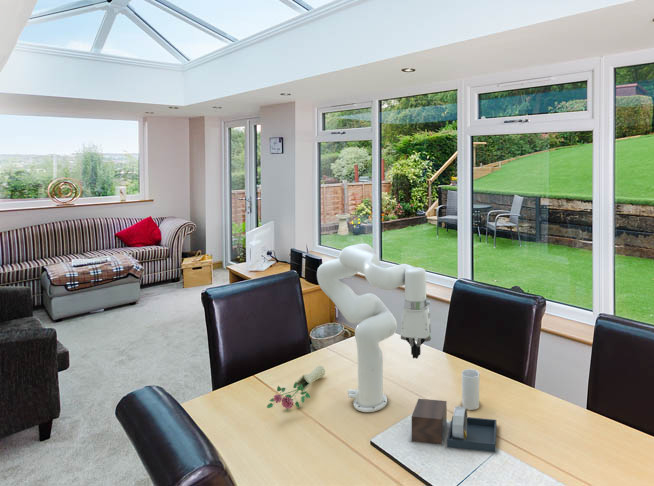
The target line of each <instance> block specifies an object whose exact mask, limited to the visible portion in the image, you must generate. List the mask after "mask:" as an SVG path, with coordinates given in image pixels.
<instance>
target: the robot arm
mask: <svg viewBox="0 0 654 486" xmlns="http://www.w3.org/2000/svg"><path fill="white" fill-rule="evenodd" d="M358 273H360V274H363V275H364V278H365V280H366V281H367V282H368V283H369V284H370V285H371V286H373V287H376V288H377V289H380V290H384V291H390V290H394V289H397V288H400V287H404V306H403V308H402V312H401V321H400V322H401V323H400V339H401V340H402V341H406V342H407V343H408V344H409V346H410V355H411V356H412V359H418V358H419V356H421V350H422V349H421V346H422V344H424V343H425V342H430V341H431V340H432V335H431V333H432V323H431V313H430V308H429V306H431V301H430V300H428V299H427V298H428V297H427V271H426V269H425V268H423V267H419V266H413V265H410V264H408V263H400V264H396V265H395V264H394V265H392V266H389V267H381V266H380V257H379V256H378V254H376V253H375V251H374V249H373V247H372V246H371V245H370V244H369V243H365V242H364V243H357V244H352V245H348V246H344V248H342V249H341V250H340V251H339V255H338V258H333V259H330V260H327V261H325V262H323V263H321V264H320V265H319V267H317V271H316V280H317V283H318V286H319V288H320V289H321V291H322V292H323V293H324V294H325V295H326V296H327V297H328V298H329V299H330V300H331V301H332V302H333V304H334V305H335V306H336V308H337V309H338V310H339V312H340V313H341V315H342V316H343V317H344V319H345V320H346V321H347V322H348V323H350V324H357V325H356V327H355V329H354V339H355V343H356V351H357V388H356V389H352V388H348V390H347V396H348V397H347V398H349V399H354V400H353V407H354V409H355V410H356V411H359V412H363V413H374V412H377V411H380V410H382V409H384V408H385V407H386V405H387V404H388V397H387V395H386V394H385V393H384V355H383V351H382V349H381V347H380V345H379V344H380V343H381V342H382V341H385V340H386V339H388V338H390V337H392V336H393V335H395V333H396V332H397V330H398V322H397V319H396V317H395V316H394V314H393V313H392V311H390V309H389V308H388V306H386V304H385V303H384V302H383V301H382V299H381V298H380V297H379V296H377V295H376V294H374V293H371V292H367V293H363V294H360V295H358V294H357V293H355V291H354V290H353V289H352V288H351V286H349V285H348V284H346V283H345V282H343V281H341V280H342V279H346V278H350V277H353V276H355V275H356V274H358ZM415 339H416V340H415Z"/></svg>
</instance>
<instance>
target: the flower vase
mask: <svg viewBox="0 0 654 486" xmlns="http://www.w3.org/2000/svg"><path fill="white" fill-rule="evenodd" d="M325 374H326V368H325V367H324V366H322V365H317V366H316V367H315V368H314V369H313V370H312V371H311V372H309V373H307V374H302V376H300V377H299V379H298V380H297V381H295V382H294V383H293V389H294V390H292V391H288V392H285V391H286V389H287V387H281V386H279V385H277V388H276V392H279V393H280V394H279V393H278V394H277V393H276V394H274V396H273V397H272V398H271V399H269V401H270V403H268V404H267V406H266V408H267V409H271V408H273V406H274V403H275V404H279V403H281V406H282V408H284V409H285V411H289V410H290V409H292V408H294V405H295V406H296V408H298V409H300V406H301V405H300V403H299V401H298V400H297V399H296V397H295V396H296V394H300V395H302V396H300V401H301V403H302V404H305V399H306V398H307V399H311V398H312V397H311V395H310V393H309V392H308V391H306V390H307V389H308V388H309V387H310V386H311V385H312V384H313V383H314V382H315V381H317V380H320V379H321V378H324V376H325ZM284 392H285V393H284ZM293 392H294V393H293ZM291 393H293V394H291ZM293 397H294V398H293ZM294 400H296V401H295V402H294Z"/></svg>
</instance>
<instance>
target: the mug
mask: <svg viewBox="0 0 654 486" xmlns="http://www.w3.org/2000/svg"><path fill="white" fill-rule="evenodd" d="M461 399H462V400H461V403H462V404H461V405H462V407H466V408H467V411H475V410H477V409H479V407H480V372H479V370H477V369H474V368H466V369H463V370H462V371H461Z"/></svg>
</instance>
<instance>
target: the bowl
mask: <svg viewBox="0 0 654 486" xmlns="http://www.w3.org/2000/svg"><path fill="white" fill-rule="evenodd" d="M452 416H453V425H452V434H453V439H459V440H465V439H464V435H463V430H465V431H466V432H467V417H468V410H467V408H466V407H463V406H459V405H456V406H455V407H454V409H453V415H452Z"/></svg>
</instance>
